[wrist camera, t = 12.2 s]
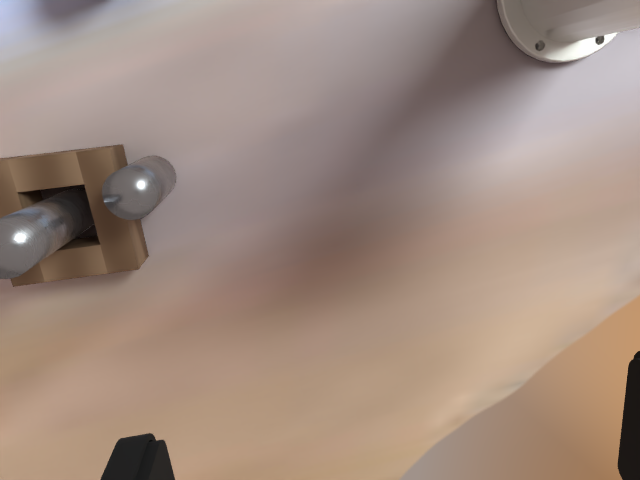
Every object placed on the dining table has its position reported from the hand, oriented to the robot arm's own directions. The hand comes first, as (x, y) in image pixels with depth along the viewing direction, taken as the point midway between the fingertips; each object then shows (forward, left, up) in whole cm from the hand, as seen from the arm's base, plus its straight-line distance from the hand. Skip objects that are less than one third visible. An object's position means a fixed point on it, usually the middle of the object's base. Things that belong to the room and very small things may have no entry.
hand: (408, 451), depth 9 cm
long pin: (+19, 0, -33) cm, 38 cm away
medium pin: (+12, -2, -33) cm, 35 cm away
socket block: (+19, 0, -33) cm, 38 cm away
